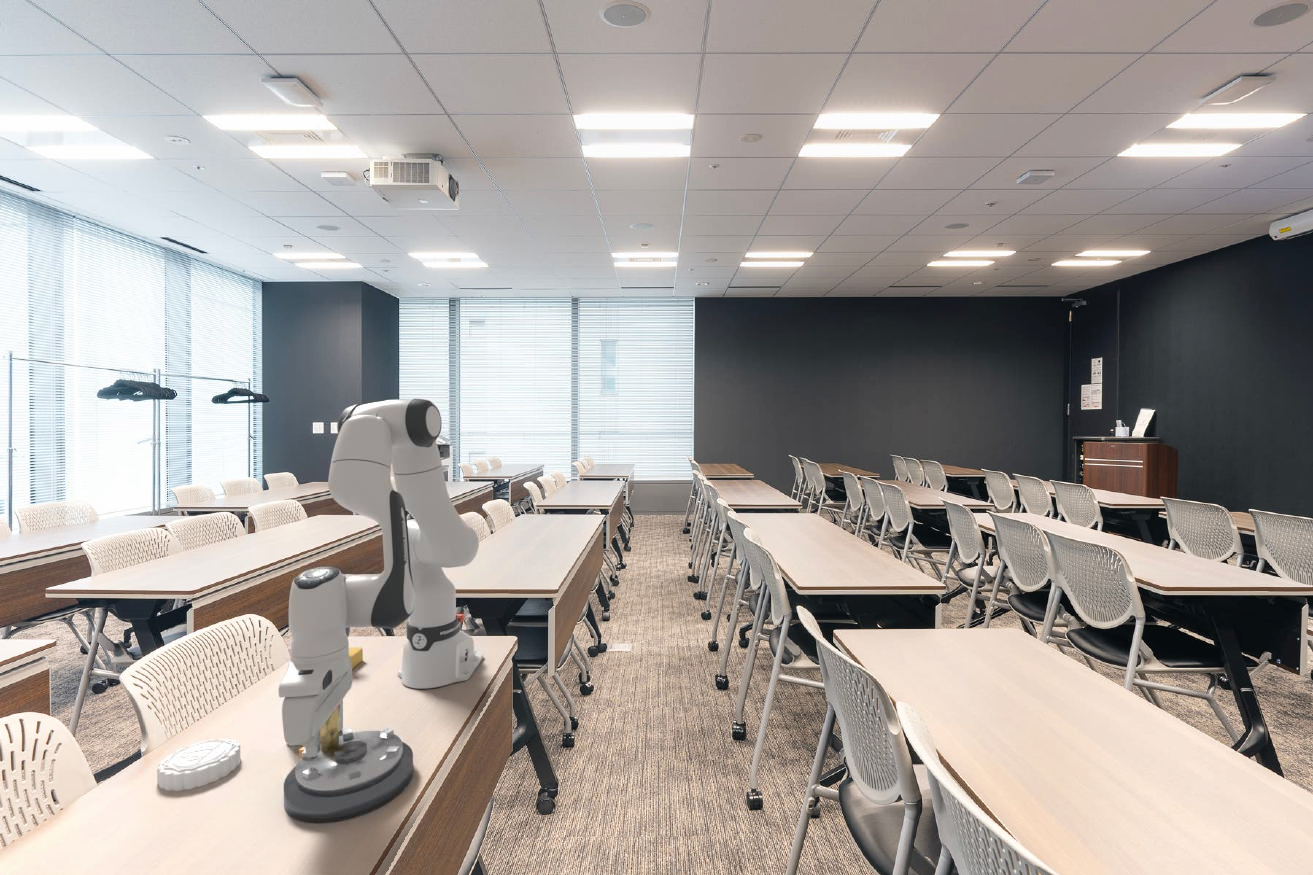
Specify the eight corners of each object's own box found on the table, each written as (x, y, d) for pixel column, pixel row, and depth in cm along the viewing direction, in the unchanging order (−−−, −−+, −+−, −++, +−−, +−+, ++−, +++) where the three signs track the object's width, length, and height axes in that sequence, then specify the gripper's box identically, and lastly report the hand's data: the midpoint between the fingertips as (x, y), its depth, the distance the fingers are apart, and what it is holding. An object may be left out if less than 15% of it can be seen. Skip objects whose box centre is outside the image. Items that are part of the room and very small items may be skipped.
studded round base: (274, 777, 100) (273, 726, 100) (363, 732, 115) (363, 687, 115) (335, 808, 92) (334, 752, 92) (423, 755, 107) (422, 707, 107)
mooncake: (188, 755, 114) (188, 736, 113) (254, 752, 115) (254, 733, 114) (139, 794, 102) (138, 773, 102) (213, 790, 103) (213, 770, 103)
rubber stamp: (341, 660, 158) (340, 616, 158) (363, 660, 158) (362, 615, 158) (321, 676, 148) (320, 629, 148) (344, 676, 149) (343, 628, 148)
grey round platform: (340, 748, 115) (340, 720, 115) (434, 758, 112) (434, 729, 112) (253, 815, 96) (253, 781, 96) (365, 829, 92) (364, 794, 92)
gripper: (324, 640, 113) (327, 710, 114) (272, 692, 93) (276, 777, 94) (360, 638, 114) (362, 707, 115) (316, 689, 94) (319, 773, 95)
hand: (323, 739), depth 104 cm, fingers open, 7 cm apart
